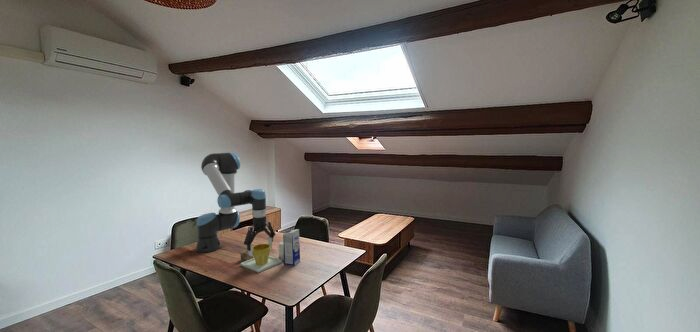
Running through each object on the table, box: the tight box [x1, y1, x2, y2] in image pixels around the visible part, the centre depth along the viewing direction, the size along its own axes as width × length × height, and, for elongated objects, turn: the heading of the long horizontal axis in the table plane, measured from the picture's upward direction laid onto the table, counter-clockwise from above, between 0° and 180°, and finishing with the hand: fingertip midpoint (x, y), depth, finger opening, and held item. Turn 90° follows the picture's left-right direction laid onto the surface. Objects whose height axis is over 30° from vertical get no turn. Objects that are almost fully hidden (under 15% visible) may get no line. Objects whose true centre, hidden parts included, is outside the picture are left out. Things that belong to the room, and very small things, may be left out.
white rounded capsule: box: [277, 241, 284, 261], centre depth 178 cm, size 7×7×9 cm
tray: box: [240, 255, 283, 274], centre depth 170 cm, size 17×17×2 cm
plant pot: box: [252, 243, 271, 265], centre depth 169 cm, size 10×10×10 cm
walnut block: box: [240, 249, 254, 262], centre depth 177 cm, size 5×5×5 cm
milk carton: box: [282, 228, 301, 267], centre depth 169 cm, size 7×7×20 cm
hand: (260, 251), depth 170 cm, fingers open, 13 cm apart
